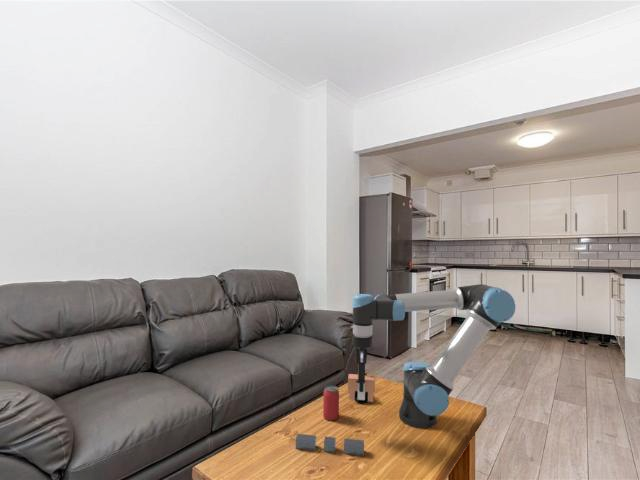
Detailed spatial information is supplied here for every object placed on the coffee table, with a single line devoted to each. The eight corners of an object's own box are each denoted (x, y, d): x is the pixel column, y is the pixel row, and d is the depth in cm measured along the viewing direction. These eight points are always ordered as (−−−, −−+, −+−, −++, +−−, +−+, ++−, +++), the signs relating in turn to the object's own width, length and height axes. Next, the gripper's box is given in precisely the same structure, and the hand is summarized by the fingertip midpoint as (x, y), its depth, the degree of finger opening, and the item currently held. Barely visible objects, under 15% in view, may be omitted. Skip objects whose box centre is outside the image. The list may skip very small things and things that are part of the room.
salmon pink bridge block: (374, 396, 127) (374, 375, 127) (374, 402, 122) (374, 380, 122) (348, 394, 128) (348, 373, 128) (347, 399, 124) (348, 378, 124)
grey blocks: (364, 450, 116) (364, 440, 116) (363, 455, 113) (364, 445, 113) (297, 443, 119) (297, 433, 119) (295, 448, 116) (295, 438, 116)
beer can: (337, 422, 134) (338, 392, 134) (321, 420, 135) (322, 390, 135) (339, 414, 140) (340, 385, 141) (324, 412, 142) (325, 384, 142)
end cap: (372, 402, 152) (372, 387, 152) (359, 404, 149) (359, 389, 149) (362, 393, 161) (362, 379, 161) (349, 395, 158) (349, 381, 158)
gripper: (353, 328, 135) (352, 385, 134) (351, 340, 117) (350, 406, 117) (372, 329, 134) (371, 387, 133) (372, 342, 116) (371, 408, 116)
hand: (361, 396), depth 125 cm, fingers closed on salmon pink bridge block, 4 cm apart
